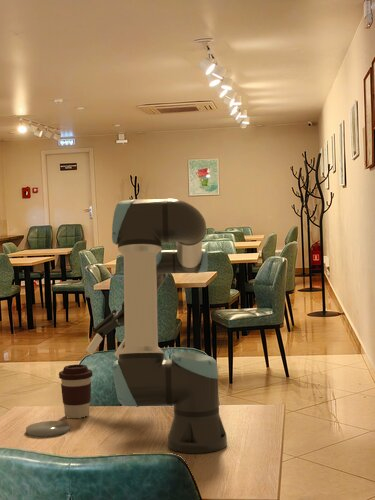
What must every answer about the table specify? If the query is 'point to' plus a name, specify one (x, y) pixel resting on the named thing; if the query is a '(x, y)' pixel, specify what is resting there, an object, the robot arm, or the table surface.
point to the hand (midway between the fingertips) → (102, 354)
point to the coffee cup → (76, 390)
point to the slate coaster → (47, 429)
